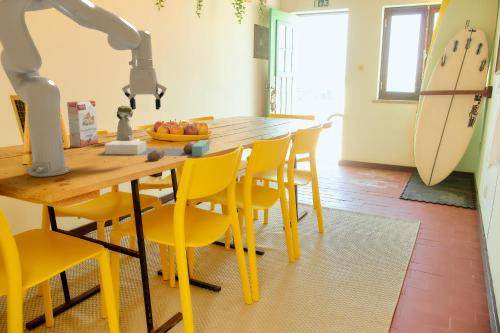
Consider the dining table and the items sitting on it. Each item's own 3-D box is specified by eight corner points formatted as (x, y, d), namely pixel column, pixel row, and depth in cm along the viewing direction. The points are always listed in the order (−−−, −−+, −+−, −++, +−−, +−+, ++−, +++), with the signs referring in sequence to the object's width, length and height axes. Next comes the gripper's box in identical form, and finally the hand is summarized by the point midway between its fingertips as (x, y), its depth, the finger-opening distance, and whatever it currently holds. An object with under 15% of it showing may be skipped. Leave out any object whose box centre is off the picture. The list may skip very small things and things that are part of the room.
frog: (108, 145, 186) (105, 106, 182) (121, 140, 198) (119, 104, 194) (131, 145, 184) (128, 106, 180) (143, 141, 196) (141, 105, 192)
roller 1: (159, 159, 147) (154, 150, 146) (150, 164, 148) (145, 155, 147) (166, 155, 156) (161, 146, 155) (158, 159, 157) (153, 151, 156)
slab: (138, 154, 159) (137, 144, 158) (105, 153, 160) (104, 144, 160) (146, 150, 169) (145, 141, 168) (115, 149, 170) (114, 140, 169)
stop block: (202, 156, 156) (201, 146, 155) (192, 156, 157) (192, 146, 156) (209, 149, 172) (209, 140, 171) (200, 149, 172) (200, 140, 171)
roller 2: (193, 154, 160) (192, 144, 159) (183, 154, 160) (183, 144, 159) (197, 150, 169) (197, 141, 168) (188, 150, 169) (188, 141, 168)
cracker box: (81, 147, 178) (77, 101, 174) (70, 147, 179) (65, 101, 175) (99, 142, 192) (95, 100, 187) (88, 142, 193) (84, 100, 188)
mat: (202, 157, 156) (202, 156, 156) (97, 155, 160) (97, 154, 160) (209, 150, 172) (209, 149, 172) (113, 148, 175) (113, 147, 175)
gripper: (116, 64, 145) (120, 110, 149) (162, 64, 144) (164, 110, 148) (124, 65, 152) (127, 108, 156) (167, 64, 152) (169, 108, 156)
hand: (145, 109), depth 152 cm, fingers open, 9 cm apart
